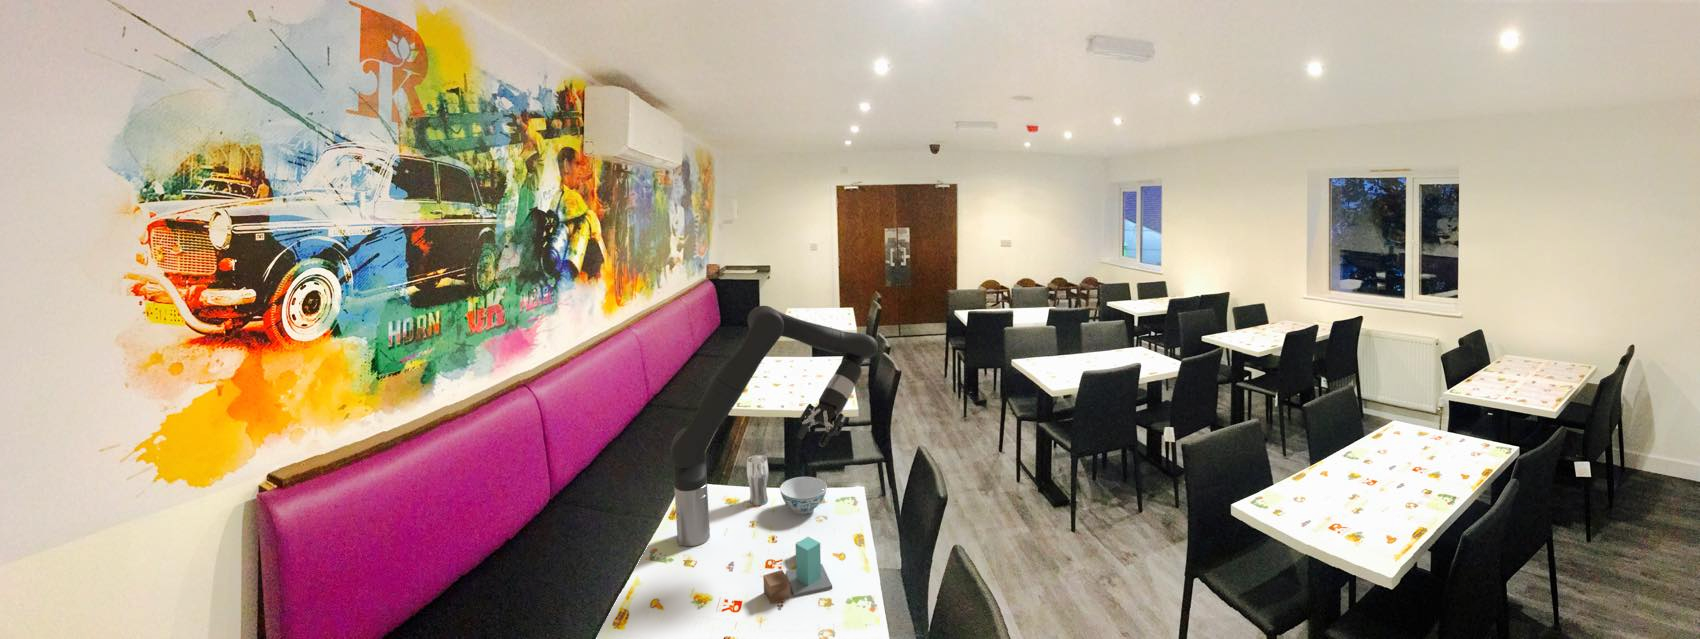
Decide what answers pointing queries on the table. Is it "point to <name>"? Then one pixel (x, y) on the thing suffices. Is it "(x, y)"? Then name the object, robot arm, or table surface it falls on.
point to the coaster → (802, 588)
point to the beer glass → (757, 479)
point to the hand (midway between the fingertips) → (810, 441)
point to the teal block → (808, 561)
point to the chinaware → (803, 493)
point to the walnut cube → (776, 586)
